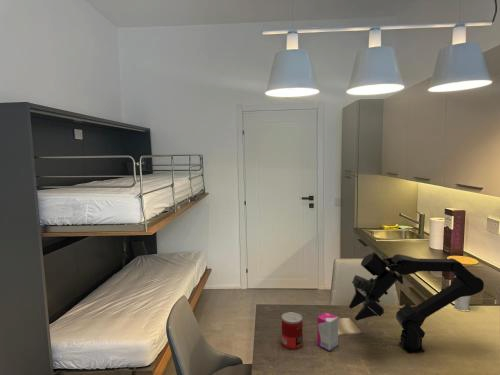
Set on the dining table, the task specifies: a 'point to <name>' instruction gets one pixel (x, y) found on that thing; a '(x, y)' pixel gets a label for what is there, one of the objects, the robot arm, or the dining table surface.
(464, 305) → the beer glass
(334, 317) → the supplement box
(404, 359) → the dining table surface
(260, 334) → the dining table surface
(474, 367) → the dining table surface
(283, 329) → the canned food
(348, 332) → the oak board
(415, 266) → the robot arm
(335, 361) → the dining table surface
